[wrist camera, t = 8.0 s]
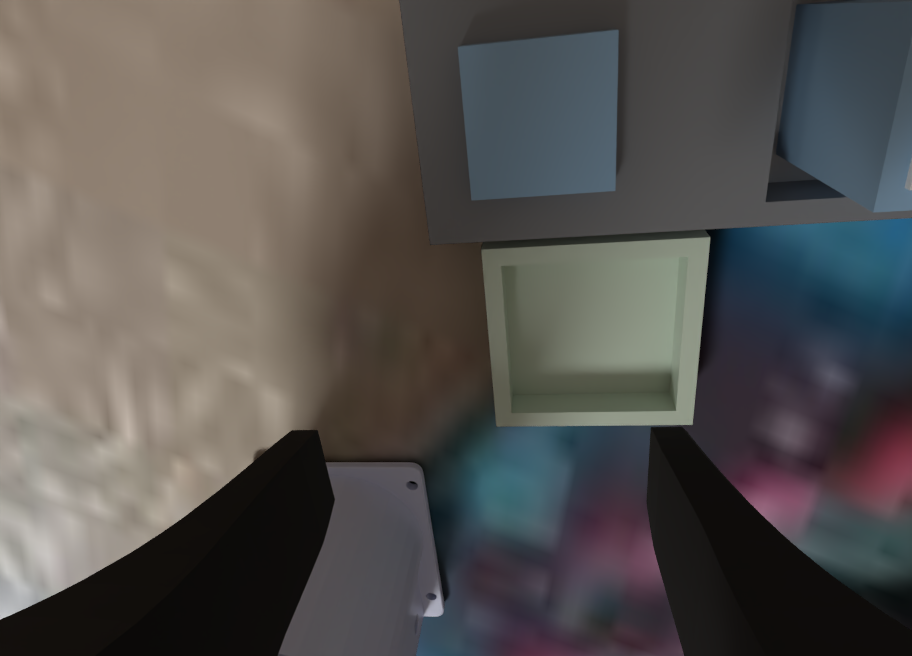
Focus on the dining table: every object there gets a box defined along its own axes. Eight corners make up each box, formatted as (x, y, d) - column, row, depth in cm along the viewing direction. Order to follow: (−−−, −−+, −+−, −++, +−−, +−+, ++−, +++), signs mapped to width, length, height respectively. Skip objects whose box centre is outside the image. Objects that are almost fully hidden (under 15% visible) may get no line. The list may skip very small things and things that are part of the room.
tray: (681, 396, 23) (692, 424, 21) (499, 399, 24) (496, 426, 22) (696, 219, 20) (710, 237, 18) (485, 231, 21) (481, 249, 19)
